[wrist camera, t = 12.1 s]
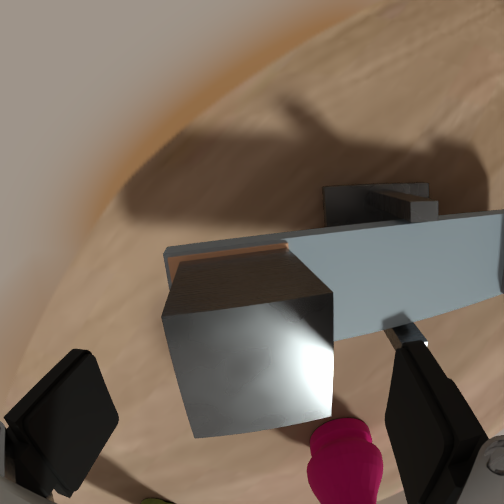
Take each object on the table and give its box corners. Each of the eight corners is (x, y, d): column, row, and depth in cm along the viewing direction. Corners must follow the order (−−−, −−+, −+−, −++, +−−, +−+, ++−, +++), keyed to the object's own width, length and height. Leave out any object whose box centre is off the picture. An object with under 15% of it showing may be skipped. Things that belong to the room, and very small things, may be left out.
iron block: (287, 247, 15) (333, 292, 9) (293, 341, 16) (331, 416, 10) (179, 261, 15) (161, 316, 9) (197, 355, 16) (194, 438, 10)
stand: (422, 182, 21) (485, 192, 13) (419, 300, 24) (467, 352, 16) (322, 186, 22) (346, 196, 14) (327, 310, 25) (346, 374, 16)
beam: (520, 207, 18) (552, 214, 15) (514, 279, 20) (543, 291, 17) (167, 246, 16) (156, 265, 13) (186, 349, 17) (182, 386, 14)
